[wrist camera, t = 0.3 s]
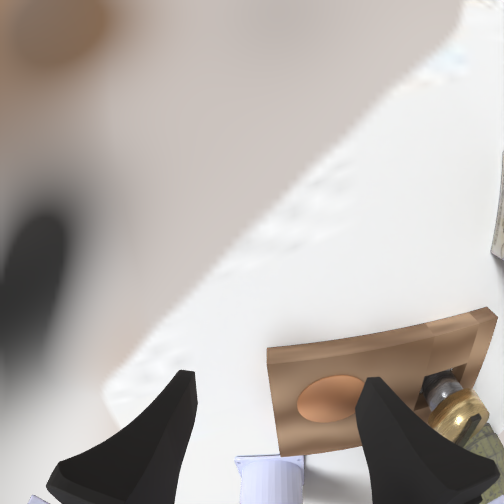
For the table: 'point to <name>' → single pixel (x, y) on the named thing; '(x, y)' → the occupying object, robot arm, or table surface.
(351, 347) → the board
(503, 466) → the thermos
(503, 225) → the coffee box
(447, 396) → the gold rounded piece
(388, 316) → the table surface
